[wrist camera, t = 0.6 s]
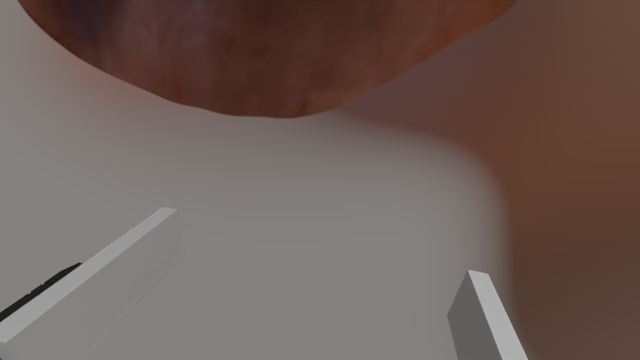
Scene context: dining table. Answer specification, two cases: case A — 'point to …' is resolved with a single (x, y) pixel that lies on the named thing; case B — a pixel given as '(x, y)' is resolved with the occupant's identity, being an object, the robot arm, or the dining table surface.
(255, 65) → the dining table surface
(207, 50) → the dining table surface
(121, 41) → the dining table surface
